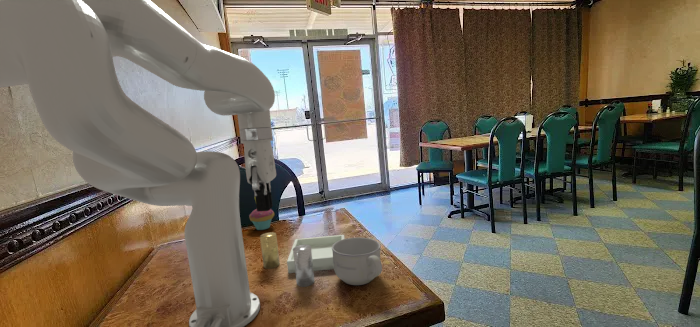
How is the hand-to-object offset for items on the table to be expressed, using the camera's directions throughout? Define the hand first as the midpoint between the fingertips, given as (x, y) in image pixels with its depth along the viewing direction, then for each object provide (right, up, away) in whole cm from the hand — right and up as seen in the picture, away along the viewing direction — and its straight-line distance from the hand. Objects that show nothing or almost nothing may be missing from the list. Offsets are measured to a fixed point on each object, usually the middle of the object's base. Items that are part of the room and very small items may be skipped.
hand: (265, 209), depth 76 cm
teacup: (+24, -15, -9) cm, 30 cm away
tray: (+13, -13, +4) cm, 19 cm away
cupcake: (-10, -12, +32) cm, 35 cm away
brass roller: (+1, -15, +2) cm, 15 cm away
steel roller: (+11, -15, -8) cm, 20 cm away
